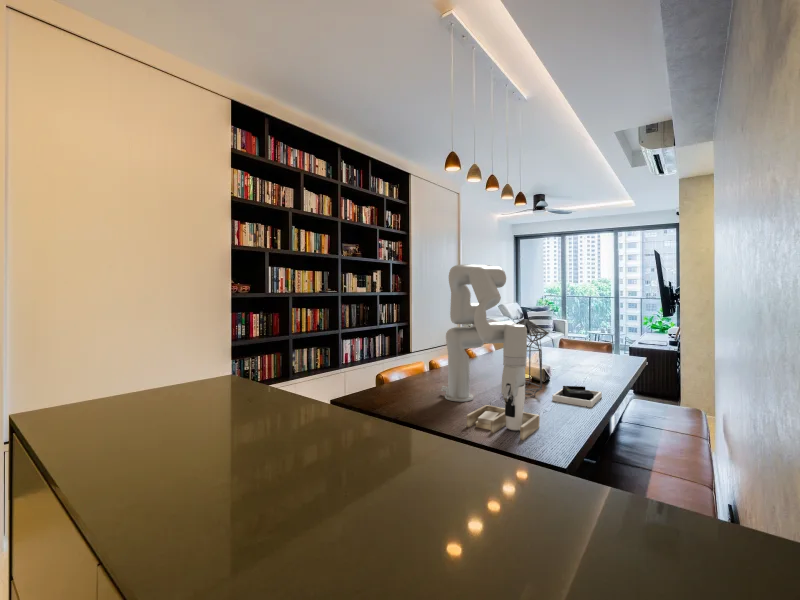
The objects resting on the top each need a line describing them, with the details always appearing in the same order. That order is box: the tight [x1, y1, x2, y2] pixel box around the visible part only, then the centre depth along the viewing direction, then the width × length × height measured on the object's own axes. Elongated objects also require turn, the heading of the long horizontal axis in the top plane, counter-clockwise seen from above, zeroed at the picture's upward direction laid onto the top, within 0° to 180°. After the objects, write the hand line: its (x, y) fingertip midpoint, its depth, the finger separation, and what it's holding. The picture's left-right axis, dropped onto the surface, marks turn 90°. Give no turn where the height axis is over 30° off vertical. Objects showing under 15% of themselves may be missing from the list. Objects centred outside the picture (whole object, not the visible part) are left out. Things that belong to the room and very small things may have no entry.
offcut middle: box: [475, 421, 491, 431], centre depth 138 cm, size 6×10×2 cm, turn 145°
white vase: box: [505, 384, 526, 431], centre depth 132 cm, size 7×7×15 cm
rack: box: [466, 404, 540, 441], centre depth 135 cm, size 20×15×5 cm
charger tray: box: [551, 387, 603, 408], centre depth 171 cm, size 16×19×2 cm
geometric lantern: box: [516, 318, 550, 399], centre depth 176 cm, size 16×16×35 cm
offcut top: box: [478, 411, 499, 425], centre depth 138 cm, size 5×9×2 cm, turn 150°
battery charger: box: [562, 385, 594, 401], centre depth 171 cm, size 13×10×4 cm
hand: (514, 413), depth 132 cm, fingers closed on white vase, 6 cm apart
